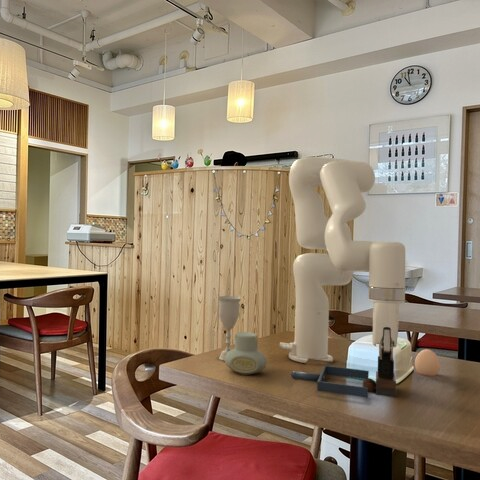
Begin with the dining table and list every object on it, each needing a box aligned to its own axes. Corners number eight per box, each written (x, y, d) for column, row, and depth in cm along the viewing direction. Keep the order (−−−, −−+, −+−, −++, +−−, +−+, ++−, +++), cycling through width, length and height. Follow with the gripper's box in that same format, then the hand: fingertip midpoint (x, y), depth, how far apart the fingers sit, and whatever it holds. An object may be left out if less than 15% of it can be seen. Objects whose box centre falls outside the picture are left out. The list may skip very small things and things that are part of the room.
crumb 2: (363, 383, 109) (377, 387, 108) (364, 379, 112) (377, 383, 111) (361, 395, 110) (374, 399, 109) (361, 390, 112) (374, 394, 111)
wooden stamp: (375, 395, 108) (376, 356, 108) (375, 385, 115) (376, 350, 115) (395, 397, 106) (396, 358, 106) (394, 388, 113) (394, 351, 113)
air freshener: (267, 369, 131) (268, 332, 131) (265, 378, 123) (266, 338, 123) (226, 365, 134) (227, 329, 134) (222, 373, 126) (223, 335, 126)
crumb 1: (378, 385, 112) (372, 394, 113) (378, 380, 114) (372, 389, 115) (366, 379, 113) (360, 388, 114) (366, 374, 115) (361, 383, 116)
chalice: (234, 363, 137) (235, 299, 137) (211, 359, 140) (213, 297, 140) (242, 358, 143) (244, 297, 143) (221, 354, 147) (223, 295, 147)
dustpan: (368, 384, 120) (368, 370, 120) (367, 403, 105) (367, 388, 105) (295, 374, 127) (296, 361, 127) (285, 391, 112) (286, 376, 112)
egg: (433, 382, 123) (434, 353, 123) (410, 377, 128) (411, 348, 128) (443, 379, 126) (444, 350, 126) (420, 374, 131) (421, 346, 131)
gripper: (368, 292, 120) (367, 366, 119) (368, 297, 105) (367, 382, 105) (402, 293, 117) (401, 370, 116) (407, 299, 102) (406, 387, 102)
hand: (385, 375), depth 111 cm, fingers closed on wooden stamp, 2 cm apart
